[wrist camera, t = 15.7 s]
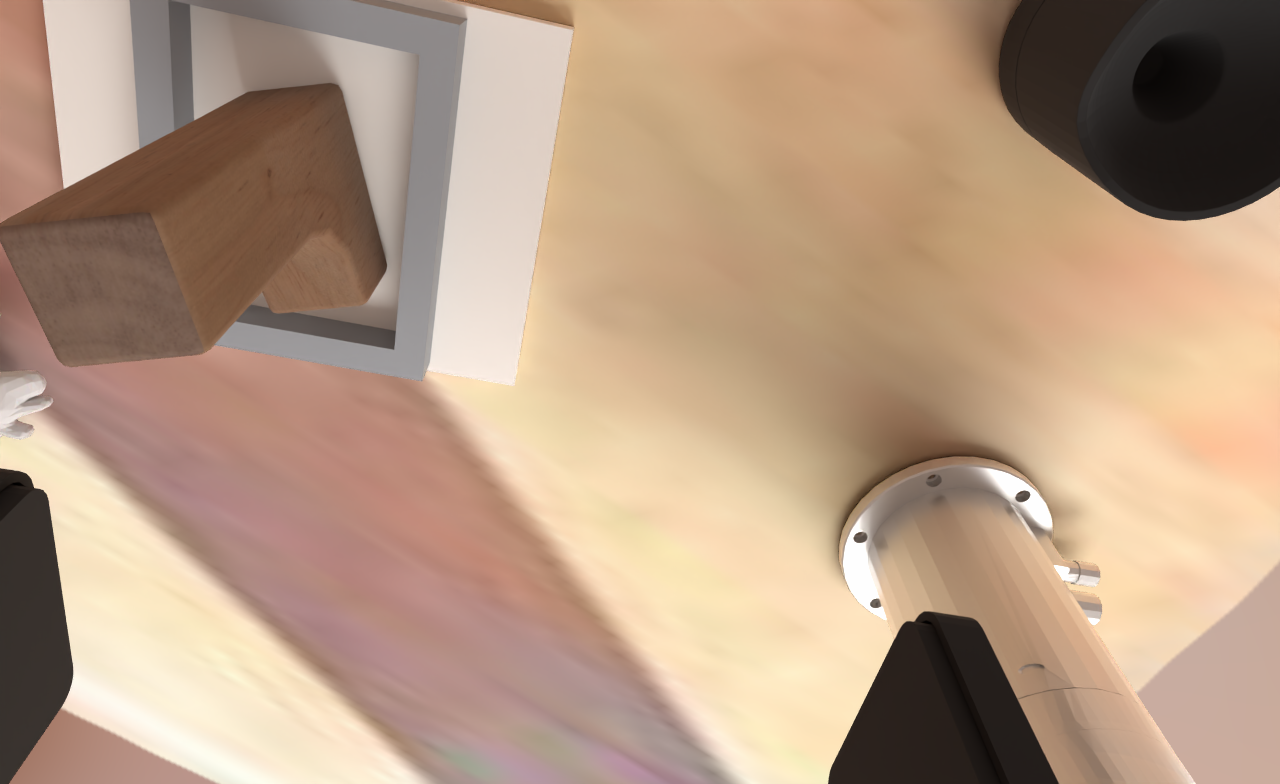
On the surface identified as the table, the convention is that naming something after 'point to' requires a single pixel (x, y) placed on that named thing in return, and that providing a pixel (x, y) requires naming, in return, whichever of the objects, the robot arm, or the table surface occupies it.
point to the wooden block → (203, 232)
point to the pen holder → (1153, 97)
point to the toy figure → (20, 401)
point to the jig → (386, 142)
